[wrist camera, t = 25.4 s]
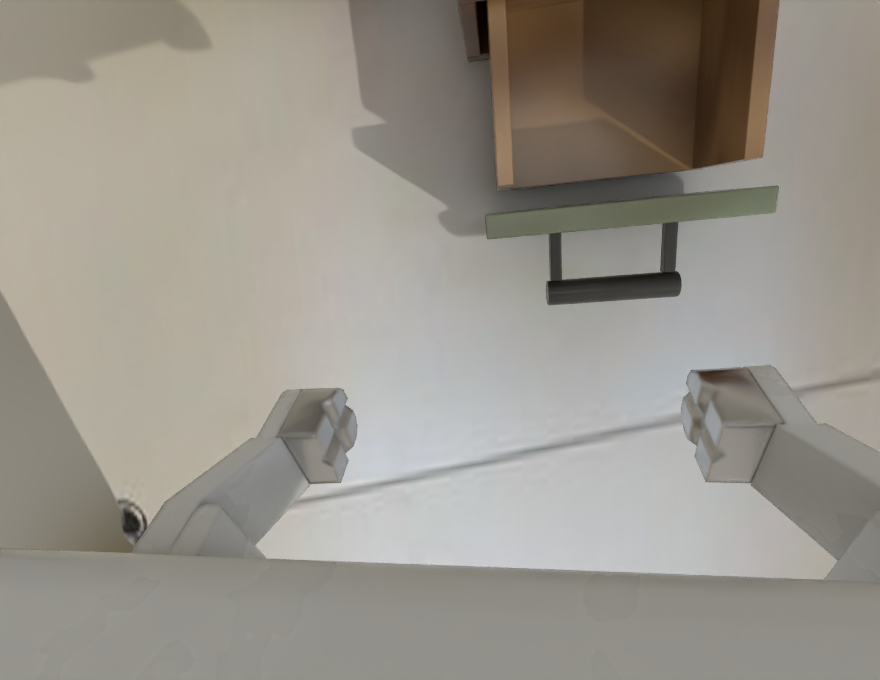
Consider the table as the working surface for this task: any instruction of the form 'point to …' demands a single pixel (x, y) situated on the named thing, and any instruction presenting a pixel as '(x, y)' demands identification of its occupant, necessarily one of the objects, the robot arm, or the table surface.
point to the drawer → (626, 117)
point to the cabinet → (474, 28)
